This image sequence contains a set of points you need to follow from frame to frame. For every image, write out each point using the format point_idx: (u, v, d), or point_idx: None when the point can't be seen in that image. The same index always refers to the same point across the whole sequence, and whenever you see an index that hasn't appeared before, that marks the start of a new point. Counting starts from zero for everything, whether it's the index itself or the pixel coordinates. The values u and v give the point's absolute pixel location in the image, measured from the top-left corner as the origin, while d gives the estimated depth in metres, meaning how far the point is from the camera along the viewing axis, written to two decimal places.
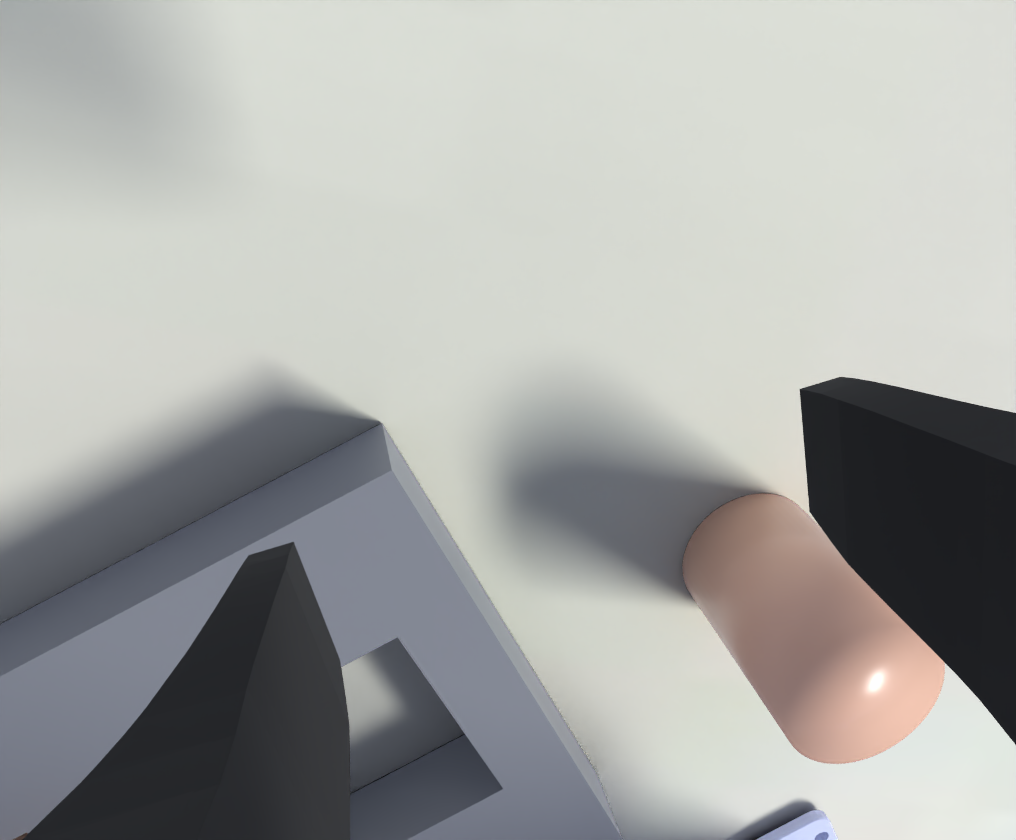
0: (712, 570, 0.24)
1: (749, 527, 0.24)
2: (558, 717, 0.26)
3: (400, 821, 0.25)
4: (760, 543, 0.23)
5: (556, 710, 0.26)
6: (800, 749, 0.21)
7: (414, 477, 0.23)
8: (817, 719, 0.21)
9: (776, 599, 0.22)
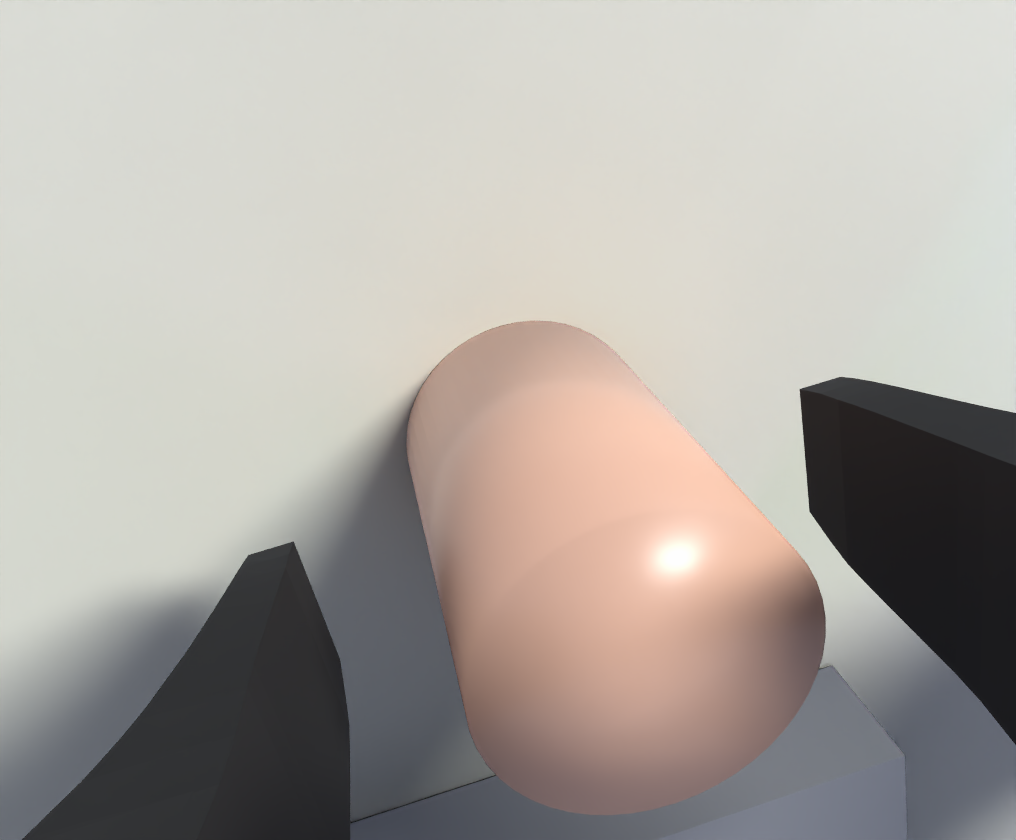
0: None
1: None
2: None
3: None
4: None
5: None
6: (721, 776, 0.10)
7: None
8: (662, 755, 0.10)
9: None
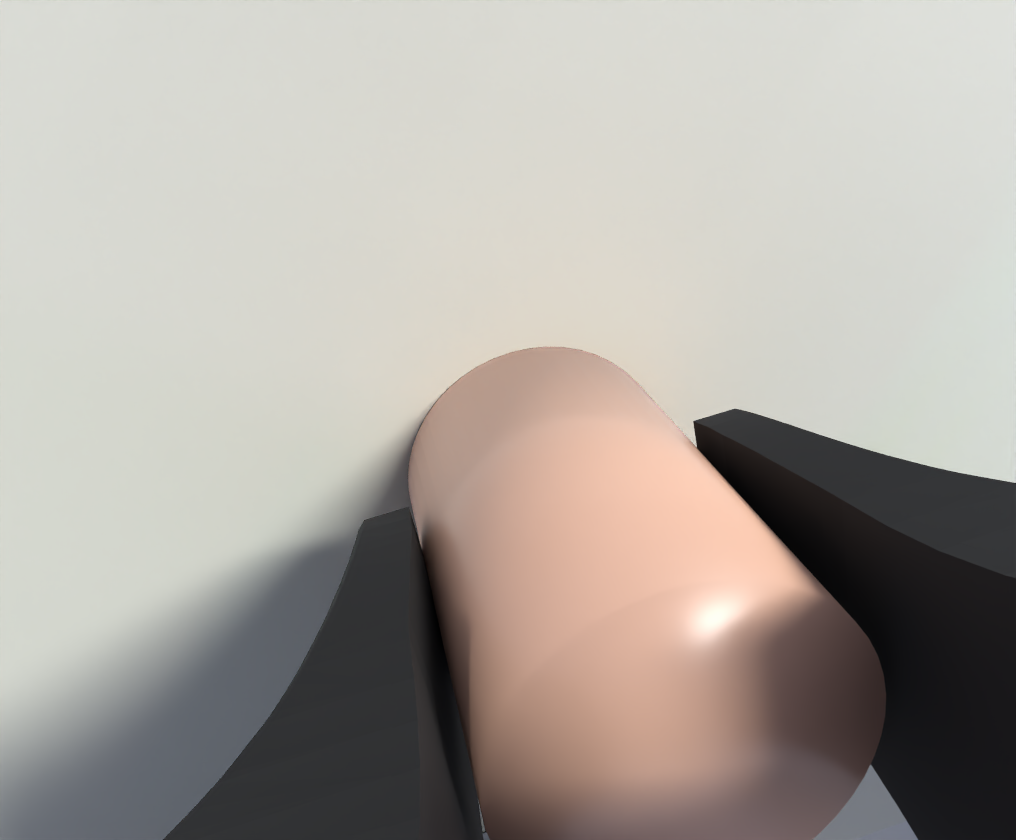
0: None
1: None
2: None
3: None
4: None
5: None
6: None
7: None
8: None
9: None
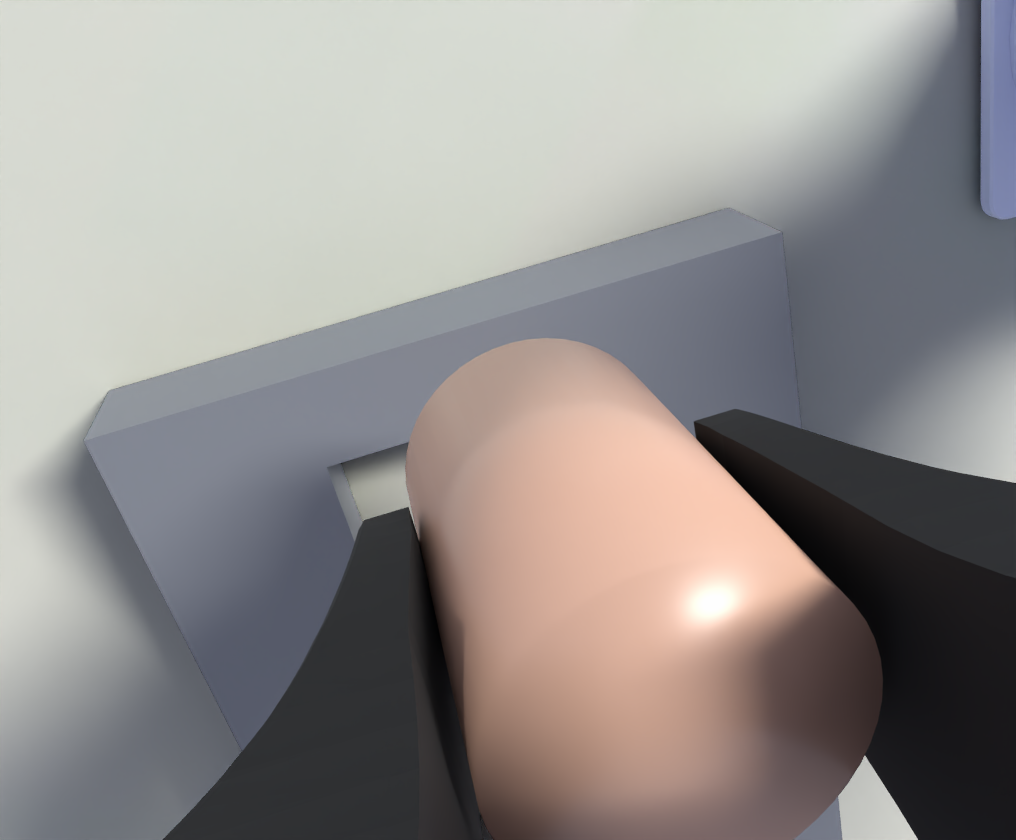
0: None
1: None
2: (587, 260, 0.19)
3: None
4: None
5: (586, 254, 0.20)
6: None
7: (185, 370, 0.19)
8: (694, 832, 0.09)
9: None
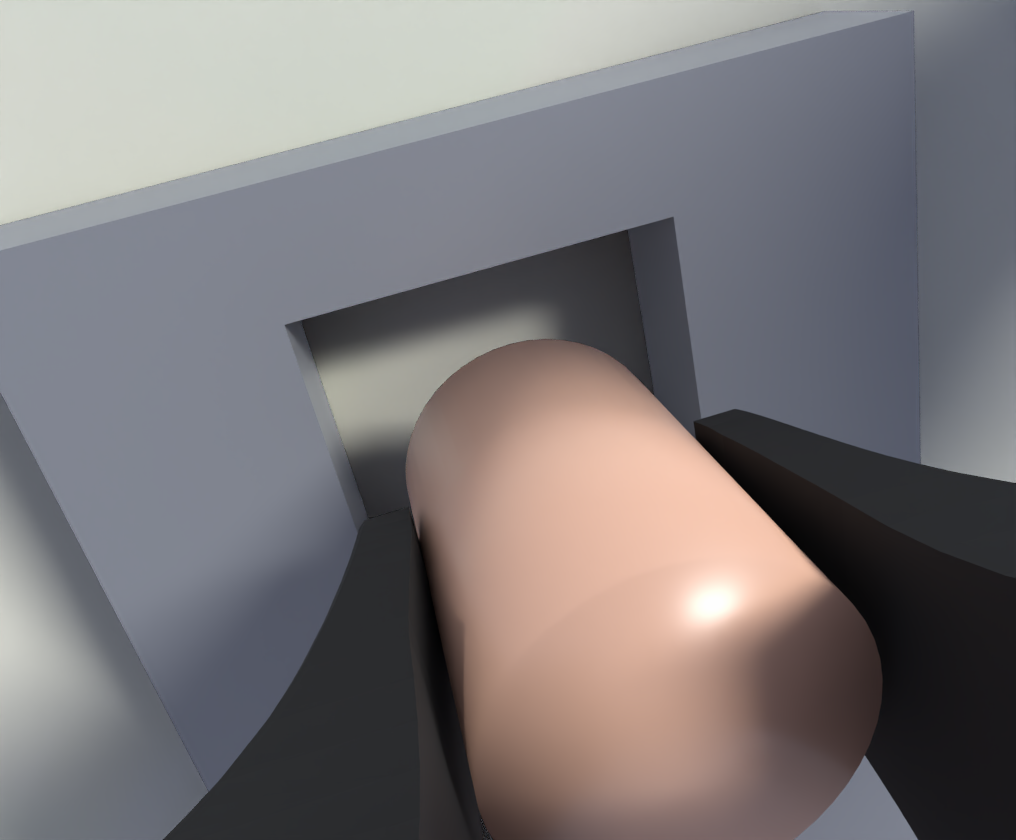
0: None
1: None
2: (640, 64, 0.14)
3: (682, 379, 0.16)
4: None
5: (638, 62, 0.15)
6: None
7: (98, 201, 0.14)
8: (695, 833, 0.09)
9: None
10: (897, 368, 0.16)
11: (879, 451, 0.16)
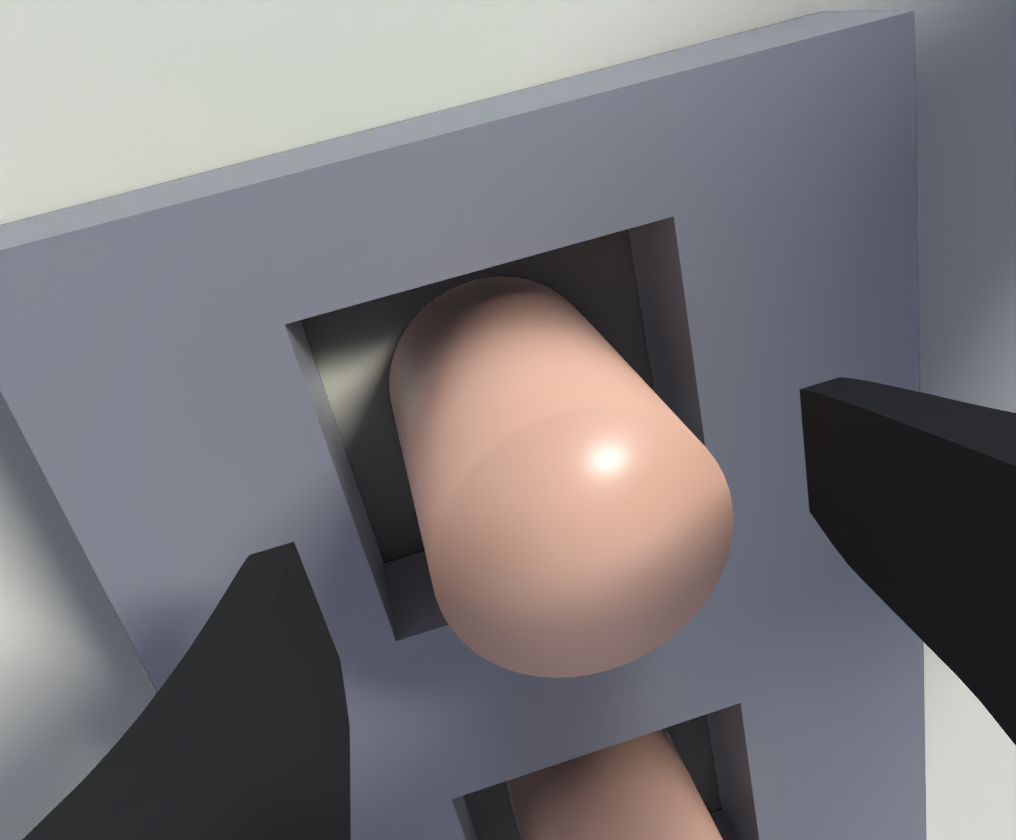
0: None
1: (399, 438, 0.15)
2: (640, 64, 0.14)
3: (682, 379, 0.16)
4: (404, 460, 0.15)
5: (638, 61, 0.15)
6: (648, 647, 0.12)
7: (98, 200, 0.14)
8: (597, 625, 0.12)
9: None
10: (898, 368, 0.16)
11: None
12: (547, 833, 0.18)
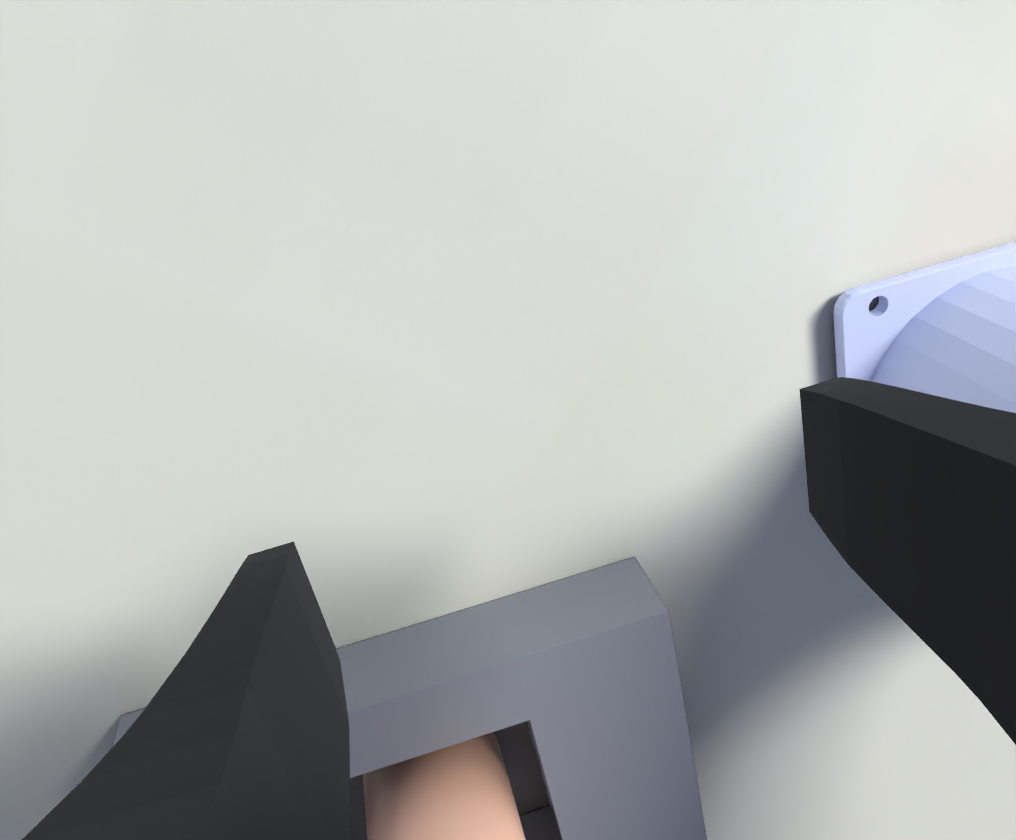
0: None
1: None
2: (514, 610, 0.24)
3: (546, 783, 0.25)
4: None
5: (515, 600, 0.24)
6: None
7: None
8: None
9: None
10: (681, 776, 0.25)
11: (675, 819, 0.25)
12: None
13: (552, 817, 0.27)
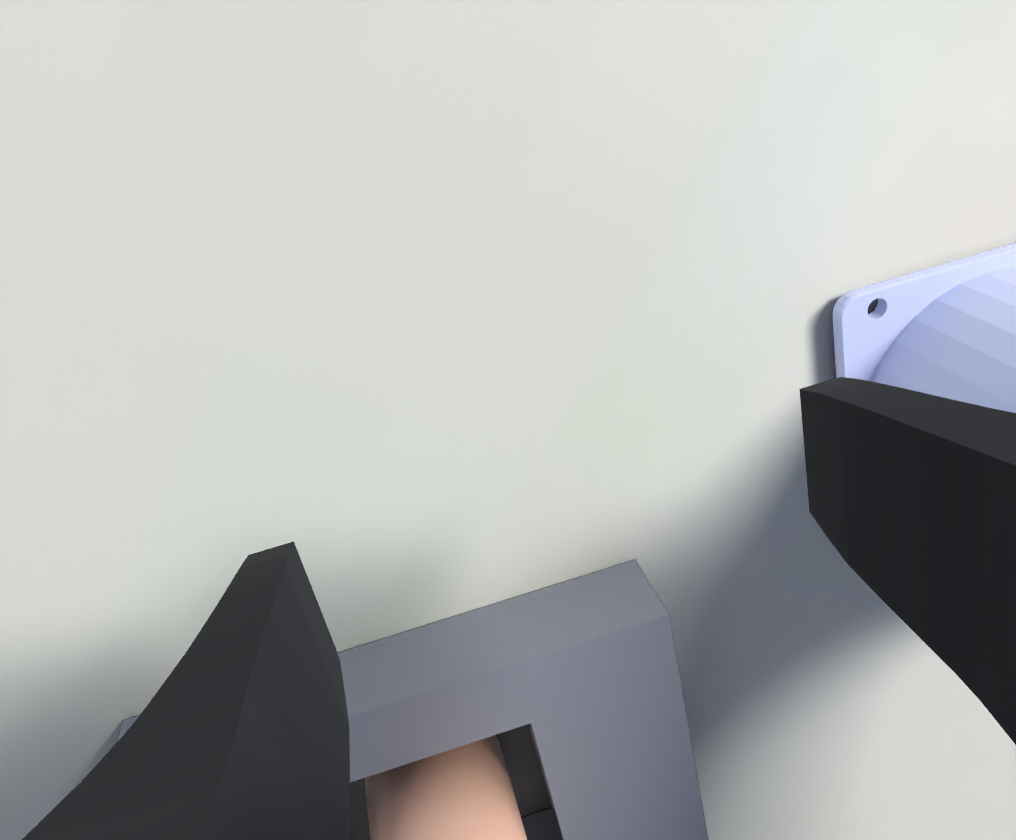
0: None
1: None
2: (515, 614, 0.24)
3: (547, 785, 0.25)
4: None
5: (516, 604, 0.24)
6: None
7: None
8: None
9: None
10: (683, 778, 0.25)
11: (676, 821, 0.25)
12: None
13: (554, 819, 0.27)
